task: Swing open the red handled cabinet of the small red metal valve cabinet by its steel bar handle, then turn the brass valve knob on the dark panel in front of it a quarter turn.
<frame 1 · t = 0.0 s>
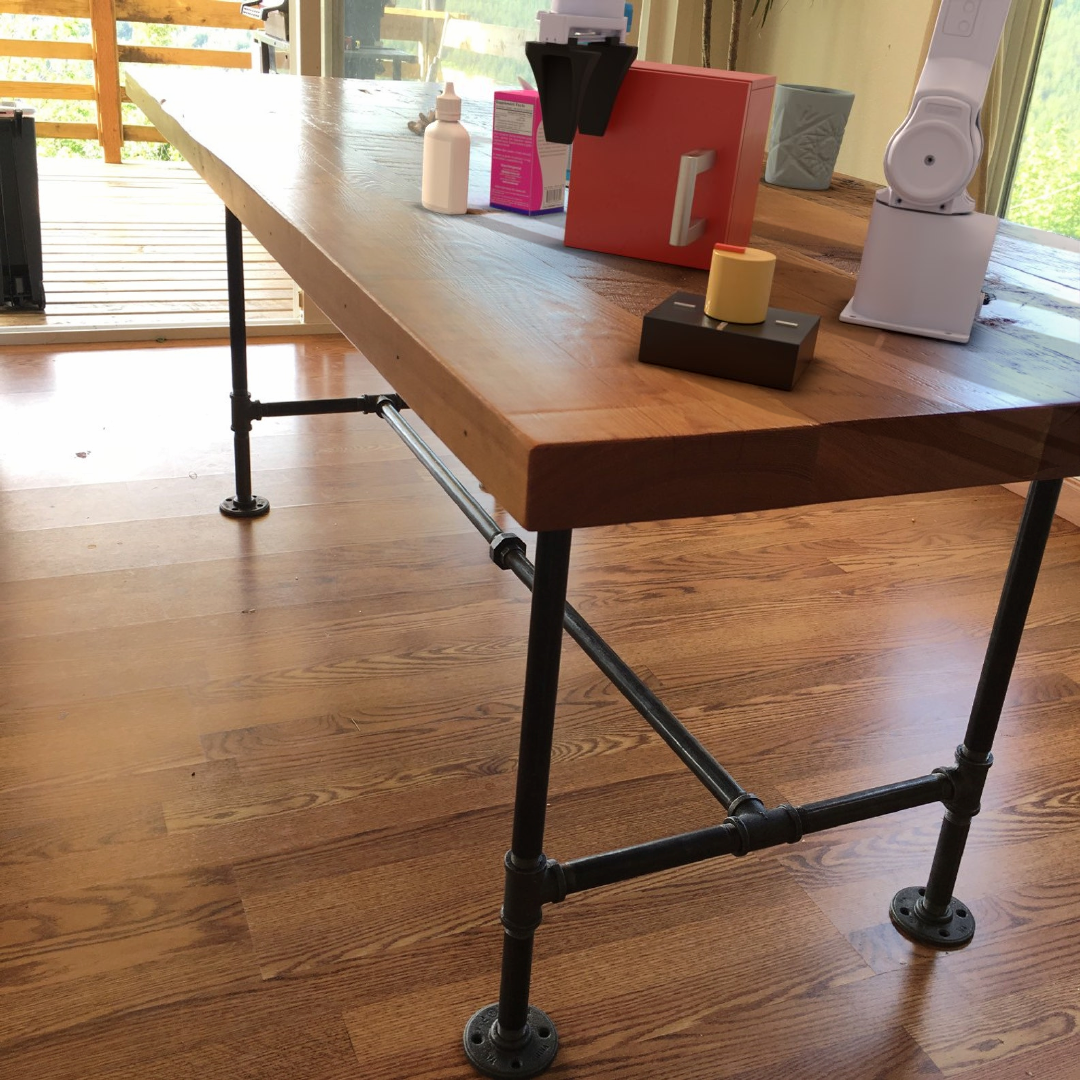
hand: (575, 139, 92), 10 cm above the table, tool pointing down, fingers open, 7 cm apart
valve knob: (740, 282, 72), point 5 cm above the table, hinge at 0.0°
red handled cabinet: (640, 172, 94), point 8 cm above the table, hinge at 0.0°
grey green vase: (798, 185, 150), on the table
valve cabinet: (659, 248, 105), on the table
ball valve: (698, 153, 172), on the table
beverage bottle: (585, 186, 135), on the table
soldier figure: (431, 133, 167), on the table
lily: (544, 162, 150), on the table
eye dropper bottle: (443, 212, 113), on the table
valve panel: (727, 360, 74), on the table
supplement box: (525, 211, 117), on the table
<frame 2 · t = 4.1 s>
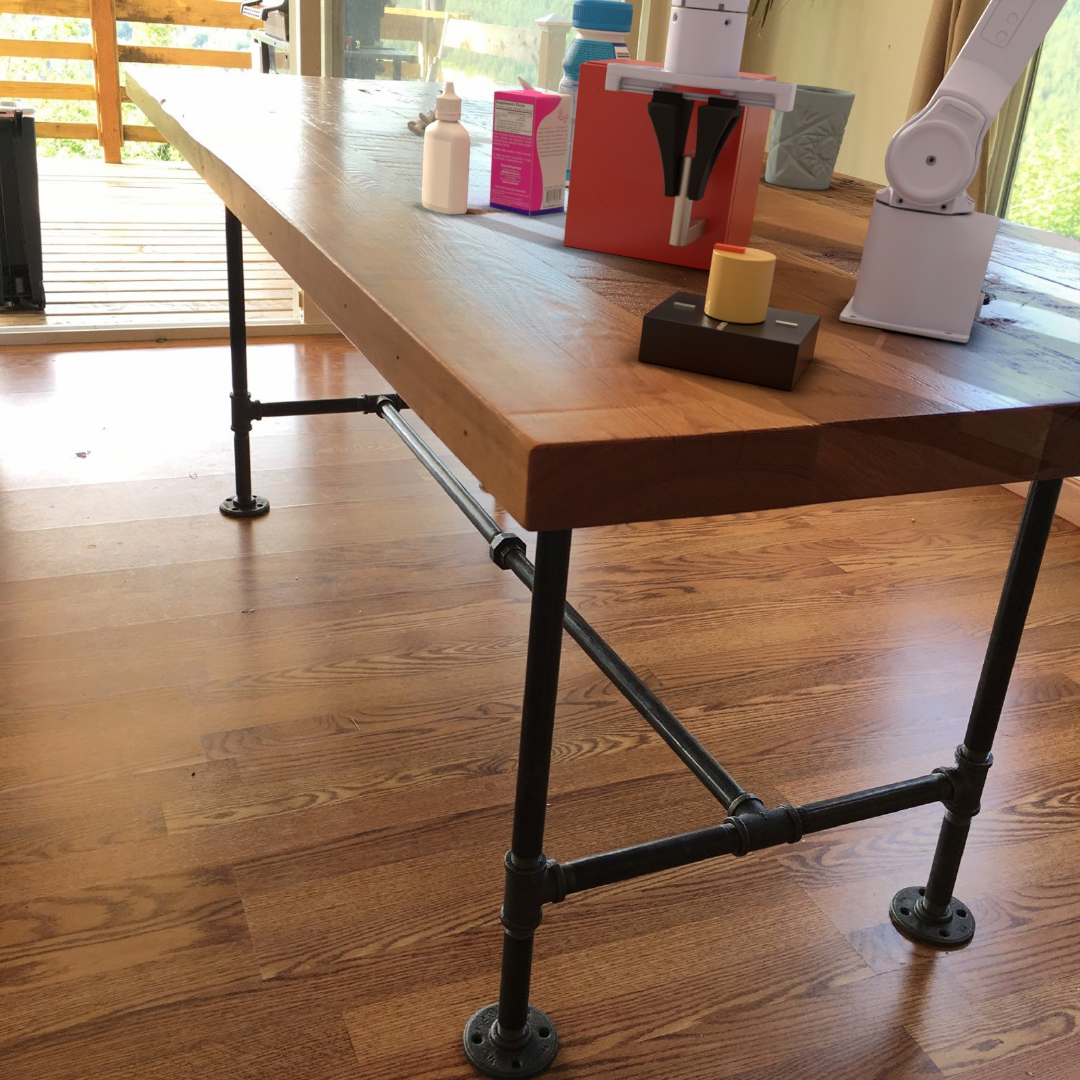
hand: (683, 197, 90), 7 cm above the table, tool pointing down, fingers closed on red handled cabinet
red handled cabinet: (640, 172, 94), point 8 cm above the table, hinge at 0.0°, touching gripper
everything else where it was.
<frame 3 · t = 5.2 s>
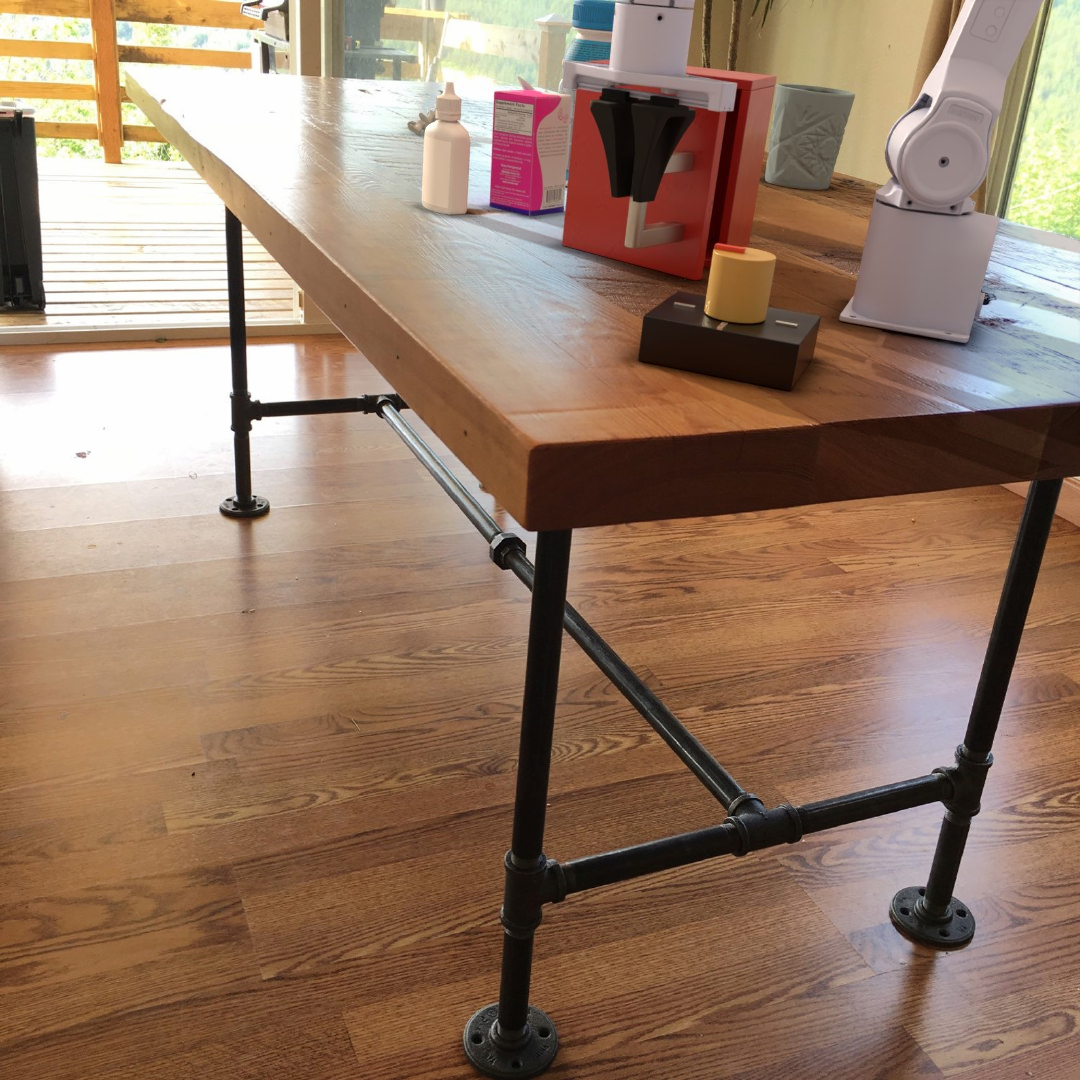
hand: (632, 198, 87), 7 cm above the table, tool pointing down, fingers closed
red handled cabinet: (616, 173, 92), point 8 cm above the table, hinge at 18.7°, touching gripper
everything else where it was.
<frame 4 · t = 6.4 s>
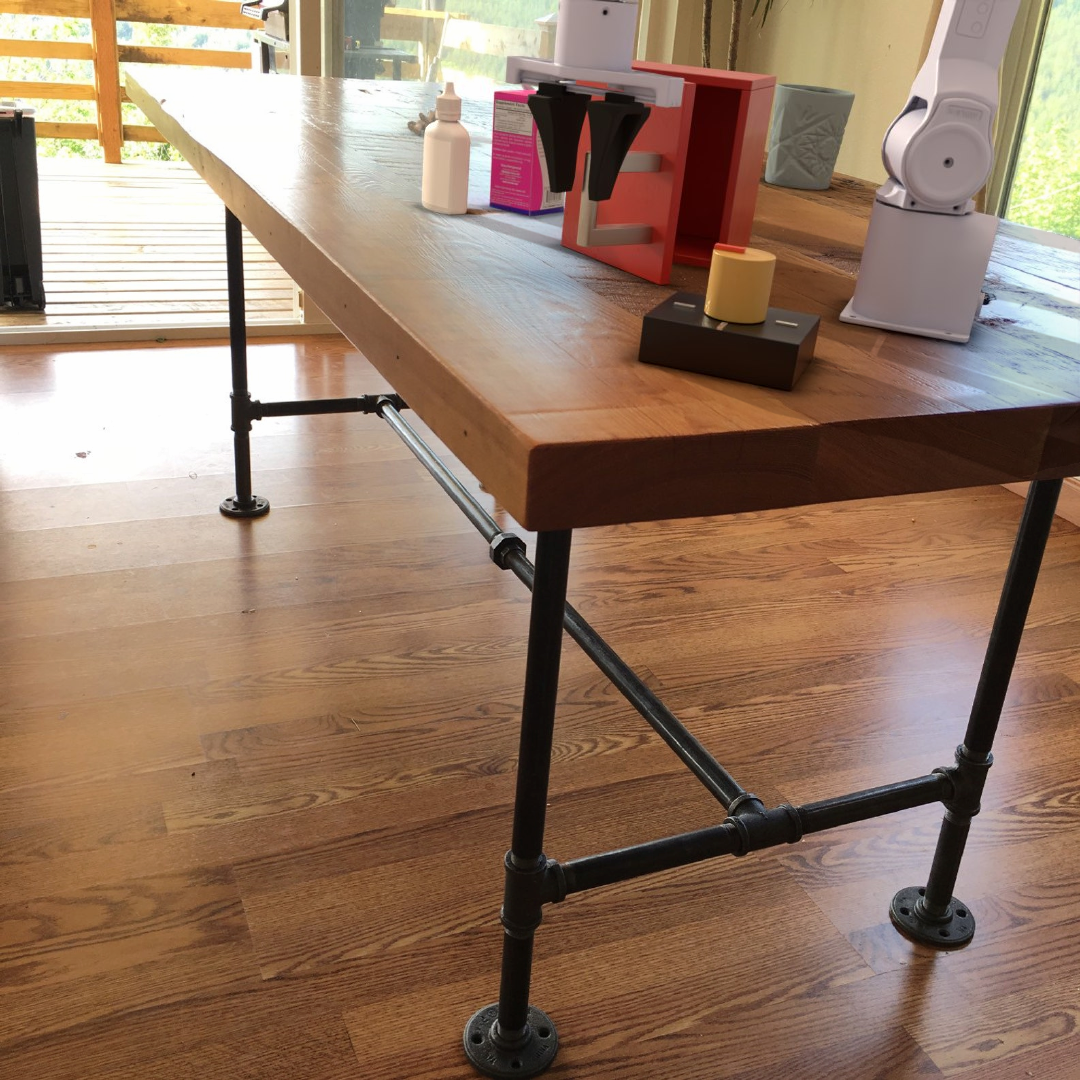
hand: (580, 195, 86), 7 cm above the table, tool pointing down, fingers open, 3 cm apart
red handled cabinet: (589, 172, 91), point 8 cm above the table, hinge at 35.2°
everything else where it was.
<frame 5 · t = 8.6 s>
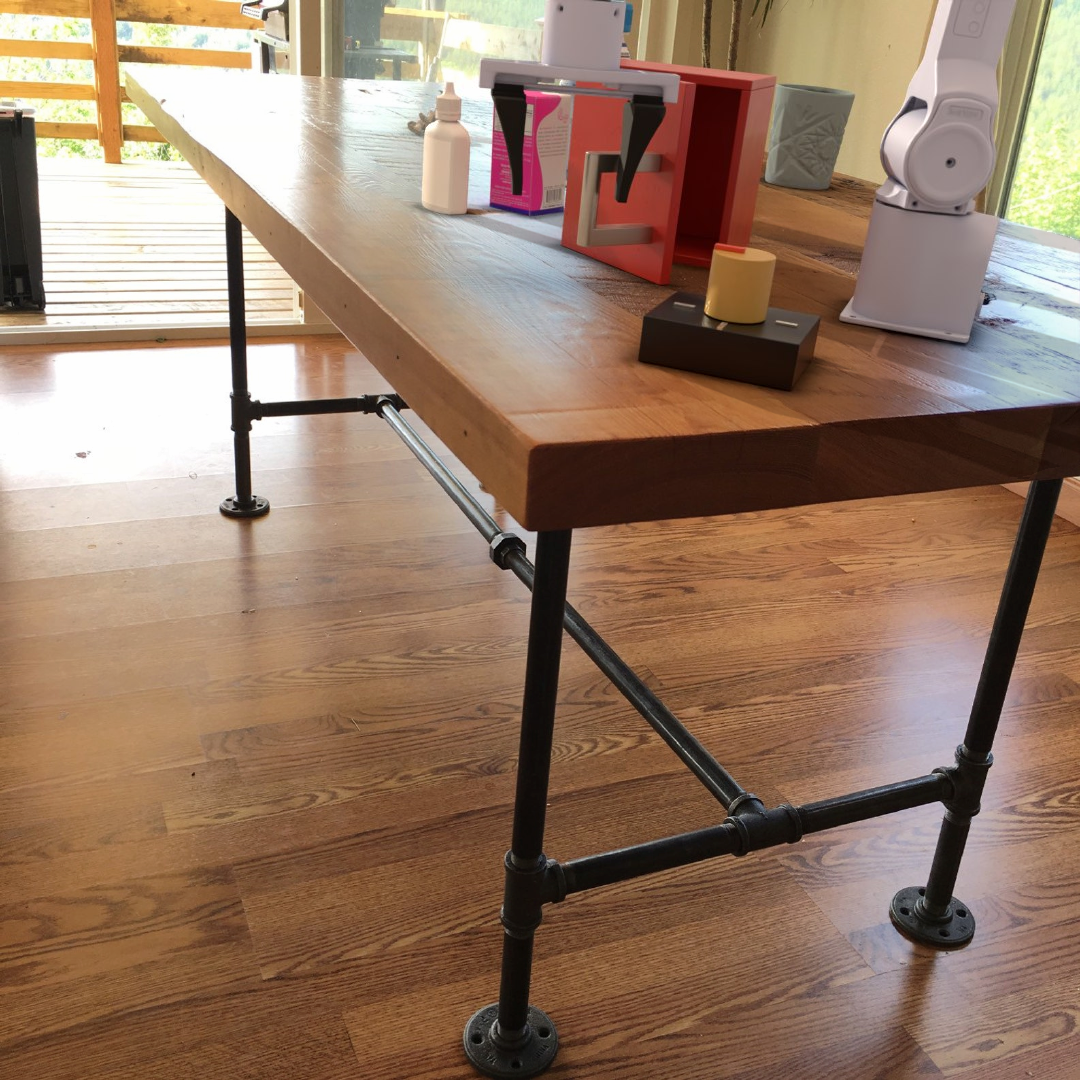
hand: (568, 197, 85), 7 cm above the table, tool pointing down, fingers open, 7 cm apart
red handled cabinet: (589, 172, 91), point 8 cm above the table, hinge at 35.2°, touching gripper
everything else where it was.
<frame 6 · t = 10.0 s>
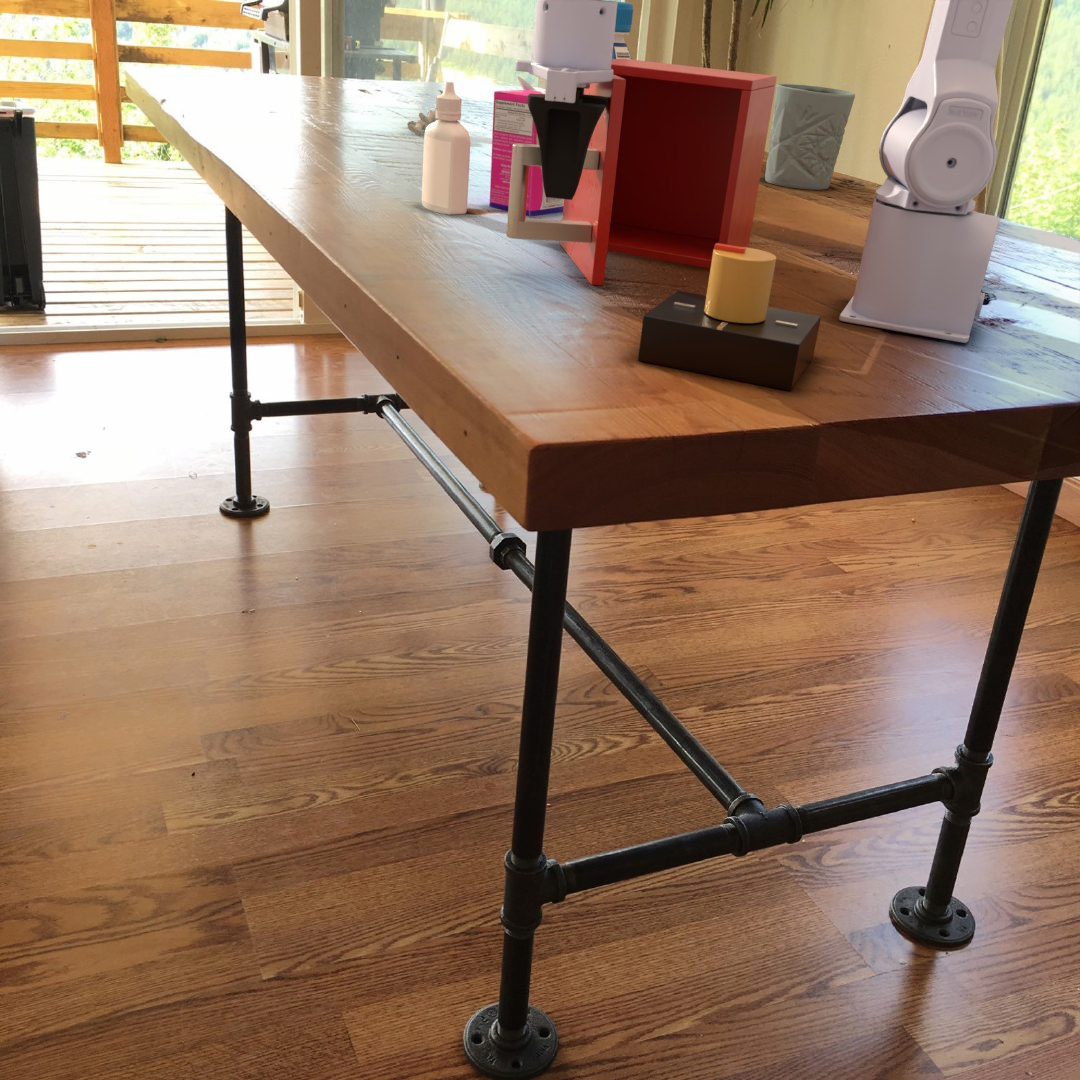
hand: (560, 196, 85), 7 cm above the table, tool pointing down, fingers closed
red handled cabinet: (549, 168, 92), point 8 cm above the table, hinge at 58.8°, touching gripper
everything else where it was.
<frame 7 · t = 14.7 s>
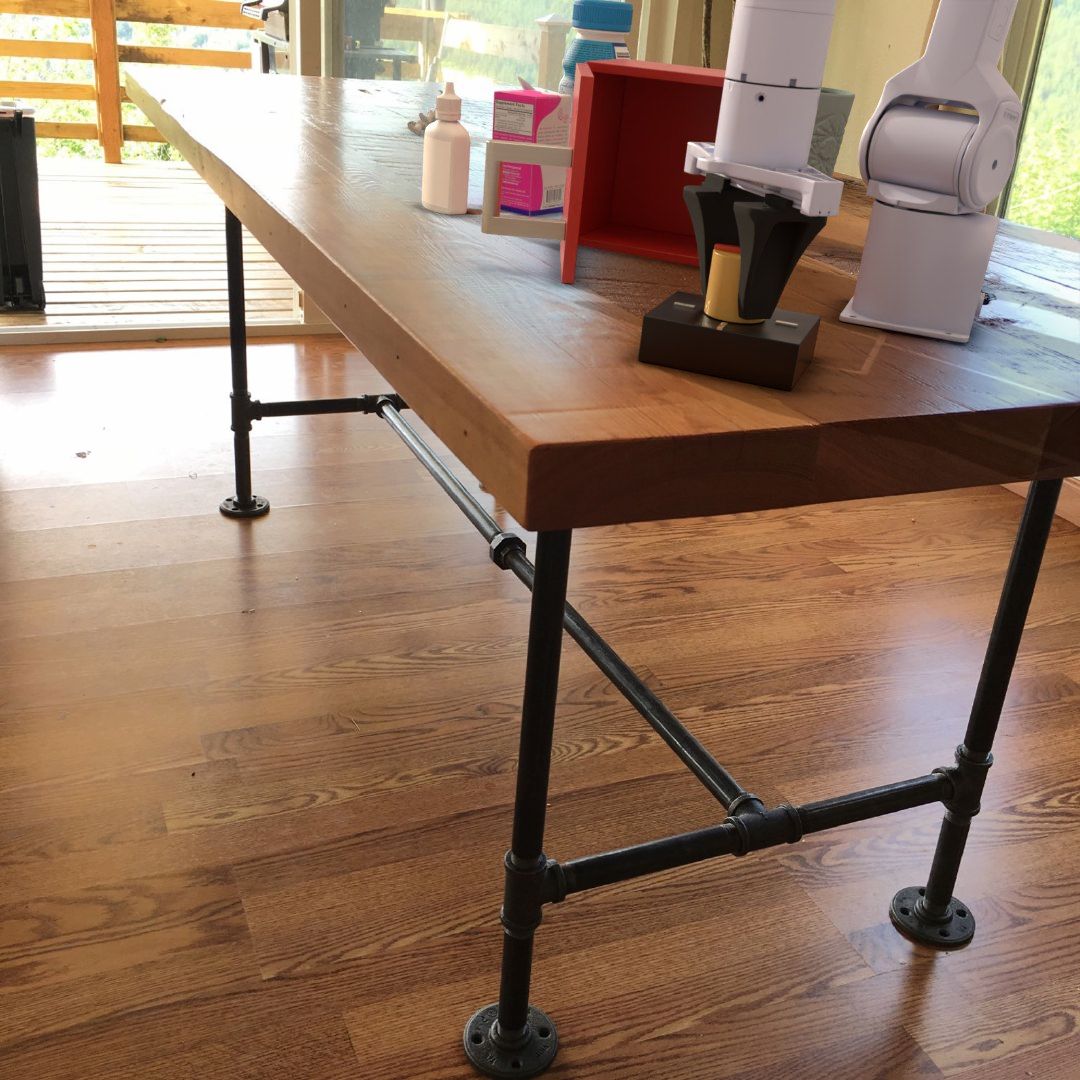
hand: (735, 308, 73), 4 cm above the table, tool pointing down, fingers closed on valve knob, 4 cm apart
valve knob: (740, 282, 72), point 5 cm above the table, hinge at -0.1°, touching gripper
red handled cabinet: (534, 165, 92), point 8 cm above the table, hinge at 68.2°
everything else where it was.
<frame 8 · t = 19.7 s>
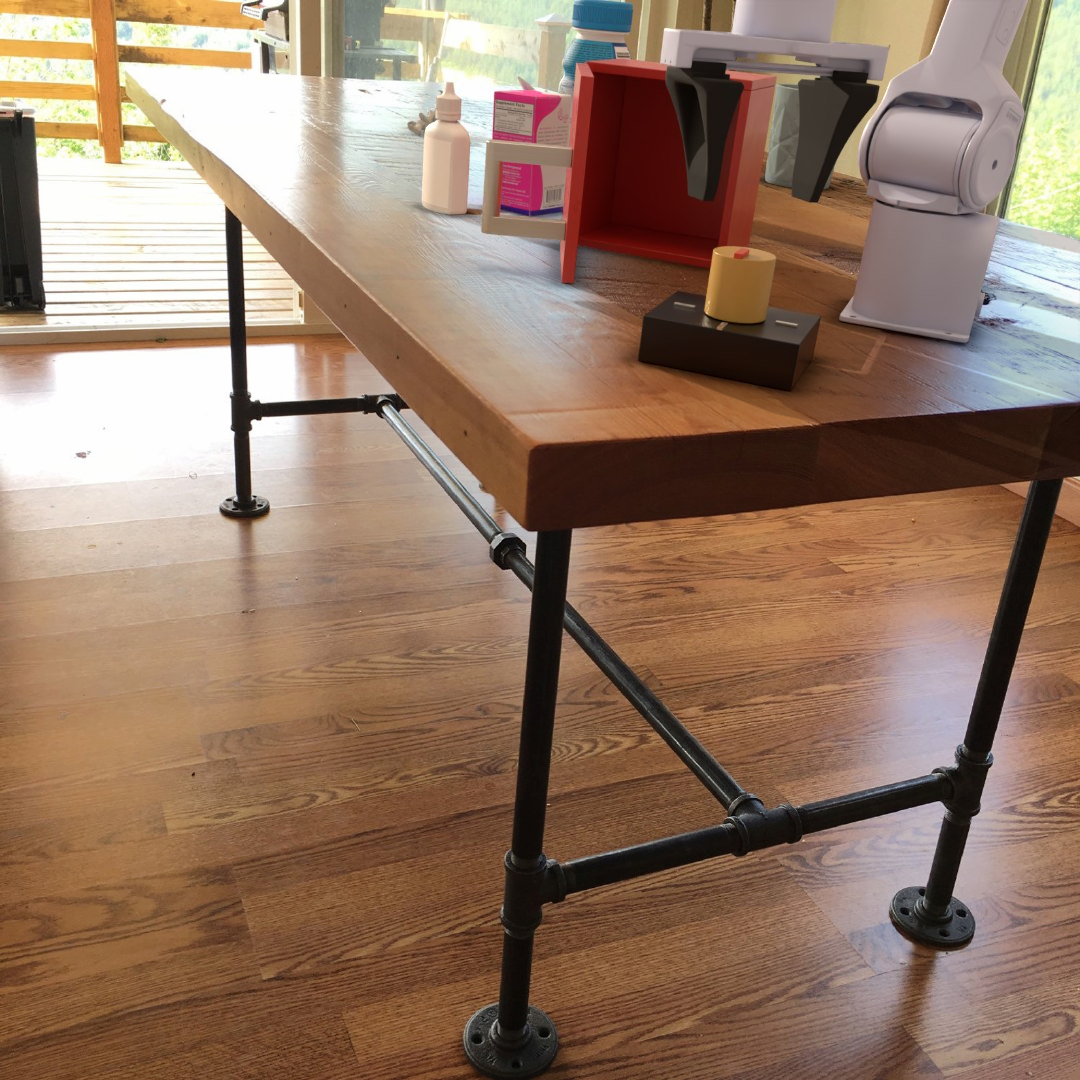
hand: (753, 199, 70), 10 cm above the table, tool pointing down, fingers open, 7 cm apart
valve knob: (740, 282, 72), point 5 cm above the table, hinge at 89.8°
everything else where it was.
at the end: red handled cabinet at +68° (first picture: +0°); valve knob at +90° (first picture: +0°) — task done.
